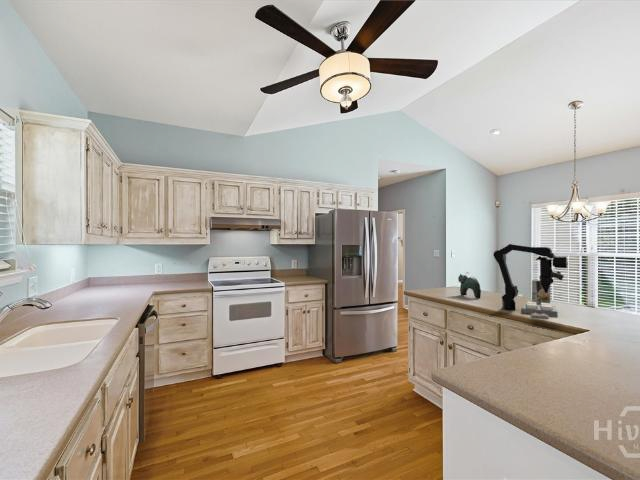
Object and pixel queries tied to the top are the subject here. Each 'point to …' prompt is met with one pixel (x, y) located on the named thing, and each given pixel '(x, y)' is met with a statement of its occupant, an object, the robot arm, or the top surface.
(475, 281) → the ceramic cat
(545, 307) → the button front right
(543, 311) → the control panel
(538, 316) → the pattern card
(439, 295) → the top surface
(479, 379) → the top surface
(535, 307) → the button front left
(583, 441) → the top surface
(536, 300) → the coffee box
